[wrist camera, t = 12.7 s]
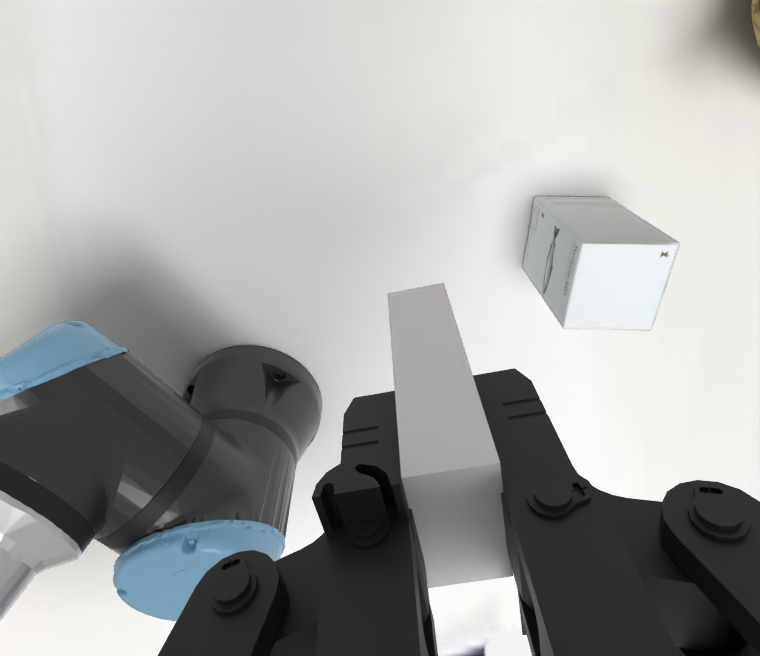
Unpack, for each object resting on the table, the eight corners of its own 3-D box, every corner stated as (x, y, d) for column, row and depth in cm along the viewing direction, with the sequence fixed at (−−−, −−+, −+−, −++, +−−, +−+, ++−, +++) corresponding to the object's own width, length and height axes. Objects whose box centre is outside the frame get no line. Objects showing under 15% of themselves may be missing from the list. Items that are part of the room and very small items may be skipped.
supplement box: (532, 193, 47) (582, 239, 36) (611, 196, 47) (685, 242, 36) (518, 268, 50) (560, 331, 39) (592, 270, 50) (655, 333, 39)
